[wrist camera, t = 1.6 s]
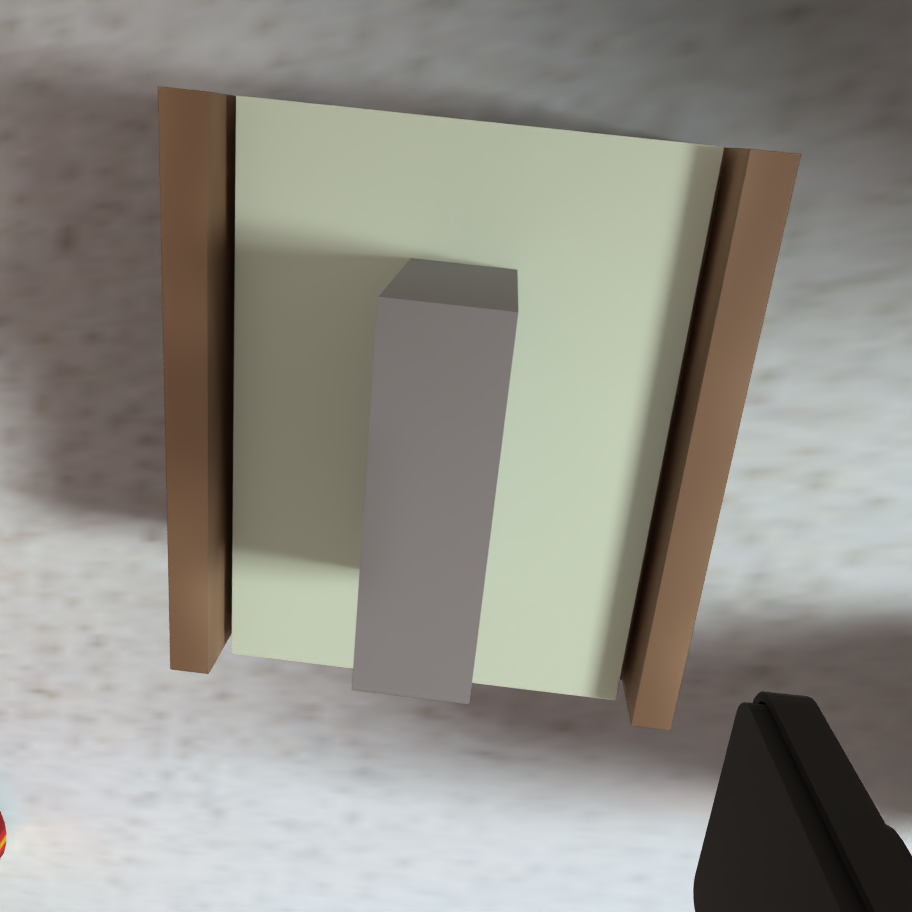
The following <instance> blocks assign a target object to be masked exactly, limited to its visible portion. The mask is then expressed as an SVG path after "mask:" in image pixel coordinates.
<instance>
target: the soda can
mask: <svg viewBox="0 0 912 912" xmlns="http://www.w3.org/2000/svg"><path fill="white" fill-rule="evenodd" d="M5 846H6V828H5V822H4V820H3V817H2V814H1V812H0V859H1V857H2V855H3V853H4V850H5Z"/></svg>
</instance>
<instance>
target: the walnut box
mask: <svg viewBox="0 0 912 912" xmlns="http://www.w3.org/2000/svg"><path fill="white" fill-rule="evenodd" d="M158 112H159V159H160V205H161V252H162V298H163V345H164V391H165V438H166V484H167V531H168V577H169V624H170V669H172V670H181V671H189V672H197V673H205V674H209V672H210V670H211V669H212V667H213V665H214V663H215V661H216V660H217V658H218V656H219V654H220V653H221V651H222V649H223V647H224V646H225V644H226V642H227V640H228V639H229V637H230V635H231V633H232V548H233V424H234V299H235V175H236V96H233V95H226V94H220V93H213V92H206V91H197V90H187V89H178V88H168V87H159V86H158ZM800 157H801V154H795V153H785V152H776V151H766V150H757V149H743V148H725V147H724V151H723V156H722V161H721V166H720V171H719V176H718V181H717V186H716V191H715V196H714V202H713V207H712V212H711V217H710V222H709V227H708V232H707V237H706V242H705V247H704V252H703V257H702V263H701V268H700V273H699V278H698V283H697V288H696V293H695V298H694V303H693V308H692V313H691V318H690V324H689V329H688V334H687V339H686V344H685V349H684V354H683V359H682V364H681V369H680V374H679V380H678V385H677V390H676V395H675V400H674V405H673V410H672V415H671V420H670V425H669V430H668V435H667V441H666V446H665V451H664V456H663V461H662V466H661V471H660V476H659V481H658V486H657V491H656V496H655V502H654V507H653V512H652V517H651V522H650V527H649V532H648V537H647V542H646V547H645V552H644V558H643V563H642V568H641V573H640V578H639V583H638V588H637V593H636V598H635V603H634V608H633V613H632V619H631V624H630V629H629V634H628V639H627V644H626V649H625V654H624V659H623V664H622V669H621V674H620V679H621V680H622V681H623V686H624V691H625V696H626V701H627V706H628V711H629V716H630V721H631V726H638V727H647V728H655V729H663V730H671V725H672V721H673V717H674V712H675V708H676V703H677V699H678V695H679V690H680V686H681V681H682V677H683V672H684V668H685V664H686V659H687V655H688V650H689V646H690V642H691V637H692V633H693V628H694V624H695V620H696V615H697V611H698V606H699V602H700V598H701V593H702V589H703V584H704V580H705V576H706V571H707V567H708V562H709V558H710V554H711V549H712V545H713V540H714V536H715V531H716V527H717V523H718V518H719V514H720V509H721V505H722V501H723V496H724V492H725V487H726V483H727V479H728V474H729V470H730V465H731V461H732V457H733V452H734V448H735V443H736V439H737V435H738V430H739V426H740V421H741V417H742V413H743V408H744V404H745V399H746V395H747V390H748V386H749V382H750V377H751V373H752V368H753V364H754V360H755V355H756V351H757V346H758V342H759V338H760V333H761V329H762V324H763V320H764V316H765V311H766V307H767V302H768V298H769V294H770V289H771V285H772V280H773V276H774V272H775V267H776V263H777V258H778V254H779V249H780V245H781V241H782V236H783V232H784V227H785V223H786V219H787V214H788V210H789V205H790V201H791V197H792V192H793V188H794V183H795V179H796V175H797V170H798V166H799V161H800Z"/></svg>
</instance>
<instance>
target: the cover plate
mask: <svg viewBox="0 0 912 912" xmlns="http://www.w3.org/2000/svg"><path fill="white" fill-rule="evenodd" d="M723 151H724V147H722V146H712V145H703V144H693V143H684V142H674V141H665V140H655V139H646V138H636V137H627V136H617V135H608V134H598V133H589V132H579V131H570V130H560V129H551V128H541V127H532V126H522V125H513V124H503V123H494V122H484V121H475V120H465V119H456V118H446V117H437V116H427V115H418V114H408V113H399V112H389V111H380V110H370V109H361V108H351V107H342V106H332V105H323V104H313V103H304V102H294V101H285V100H276V99H266V98H257V97H247V96H238V95H236V175H235V299H234V424H233V548H232V654H238V655H247V656H255V657H263V658H271V659H280V660H288V661H296V662H304V663H312V664H321V665H329V666H337V667H345V668H353V677H352V690H356V691H364V692H372V693H380V694H389V695H397V696H405V697H413V698H421V699H429V700H438V701H446V702H454V703H462V704H469V703H470V695H471V687H472V683H477V684H485V685H493V686H502V687H510V688H518V689H526V690H535V691H543V692H551V693H559V694H567V695H576V696H584V697H592V698H600V699H609V700H616V695H617V690H618V685H619V680H620V674H621V669H622V664H623V659H624V654H625V649H626V644H627V639H628V634H629V629H630V624H631V619H632V613H633V608H634V603H635V598H636V593H637V588H638V583H639V578H640V573H641V568H642V563H643V558H644V552H645V547H646V542H647V537H648V532H649V527H650V522H651V517H652V512H653V507H654V502H655V496H656V491H657V486H658V481H659V476H660V471H661V466H662V461H663V456H664V451H665V446H666V441H667V435H668V430H669V425H670V420H671V415H672V410H673V405H674V400H675V395H676V390H677V385H678V380H679V374H680V369H681V364H682V359H683V354H684V349H685V344H686V339H687V334H688V329H689V324H690V318H691V313H692V308H693V303H694V298H695V293H696V288H697V283H698V278H699V273H700V268H701V263H702V257H703V252H704V247H705V242H706V237H707V232H708V227H709V222H710V217H711V212H712V207H713V202H714V196H715V191H716V186H717V181H718V176H719V171H720V166H721V161H722V156H723Z"/></svg>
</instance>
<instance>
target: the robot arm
mask: <svg viewBox="0 0 912 912" xmlns="http://www.w3.org/2000/svg"><path fill="white" fill-rule="evenodd" d="M693 891H694V907H695V912H912V856H911V854H910V852H909V850H908V849H907V847H906V845H905V844H904V842H903V840H902V839H901V838H900V836H899V835H898V834H897V832H896V831H895V830H894V829H893V828H891V827H890V826H888V825H886V824H885V822H884V821H883V819H882V817H881V815H880V814H879V812H878V810H877V808H876V807H875V805H874V803H873V801H872V800H871V798H870V796H869V794H868V793H867V791H866V789H865V787H864V786H863V784H862V782H861V780H860V779H859V777H858V775H857V773H856V772H855V770H854V768H853V766H852V765H851V763H850V761H849V759H848V758H847V756H846V754H845V752H844V751H843V749H842V747H841V745H840V744H839V742H838V740H837V738H836V737H835V735H834V733H833V731H832V730H831V728H830V726H829V725H828V723H827V721H826V719H825V718H824V716H823V714H822V712H821V711H820V709H819V707H818V705H817V704H816V702H815V701H814V700H813V699H812V698H810V697H807V696H798V695H789V694H780V693H771V692H760V693H758V694H757V696H756V697H755V699H754V701H753V703H746V702H743V703H741V704H740V706H739V707H738V710H737V713H736V717H735V721H734V724H733V728H732V732H731V736H730V740H729V744H728V748H727V752H726V756H725V760H724V764H723V768H722V772H721V776H720V780H719V784H718V787H717V791H716V795H715V799H714V803H713V807H712V811H711V815H710V819H709V823H708V827H707V831H706V835H705V839H704V843H703V847H702V850H701V854H700V858H699V862H698V866H697V870H696V874H695V879H694V890H693Z"/></svg>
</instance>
